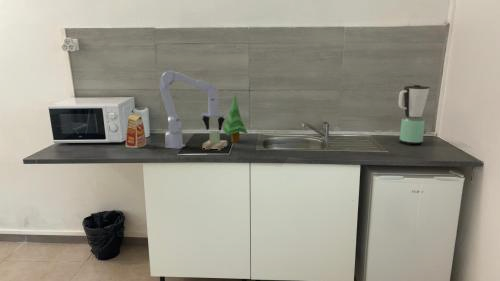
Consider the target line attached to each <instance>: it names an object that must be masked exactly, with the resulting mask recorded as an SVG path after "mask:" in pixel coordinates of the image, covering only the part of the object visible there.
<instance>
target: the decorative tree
mask: <svg viewBox="0 0 500 281" xmlns="http://www.w3.org/2000/svg"><path fill="white" fill-rule="evenodd" d="M222 130H223V131H224V133H225V134H226V135H227V136H230V135H231V136H230V137H231V139H230V140H231V143H237V144H238V143H240V133H244V134H248V132H247V128H246V127H245V124H244V123H243V119H242V117H241V114H240V109H239V105H238V101H237V96H236V94H234V96H233V99H232V103H231V106H230V111H229V116H228V117H227V120H226V121H225V124H224V127H223V128H222Z"/></svg>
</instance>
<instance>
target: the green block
mask: <svg viewBox="0 0 500 281" xmlns="http://www.w3.org/2000/svg"><path fill="white" fill-rule="evenodd" d="M220 134H221V132H220V131H216V130H215V131H213V130H212V131H210V132H209V140H210V143H216V144H217V143H219V142H220V140H221V139H220V138H221V137H220V136H221V135H220Z"/></svg>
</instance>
